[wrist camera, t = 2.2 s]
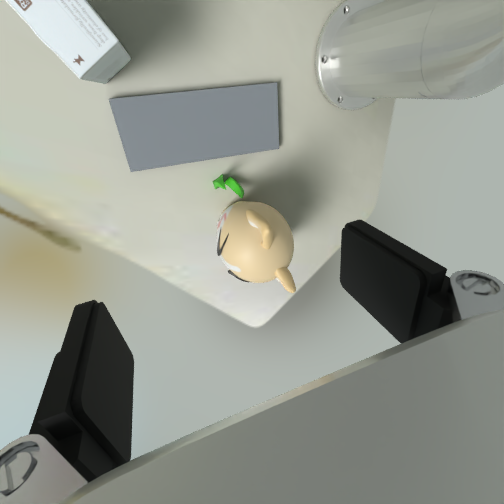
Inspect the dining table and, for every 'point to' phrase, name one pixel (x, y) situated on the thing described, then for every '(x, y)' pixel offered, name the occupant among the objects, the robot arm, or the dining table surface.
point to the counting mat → (197, 125)
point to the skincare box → (75, 36)
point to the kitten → (254, 240)
